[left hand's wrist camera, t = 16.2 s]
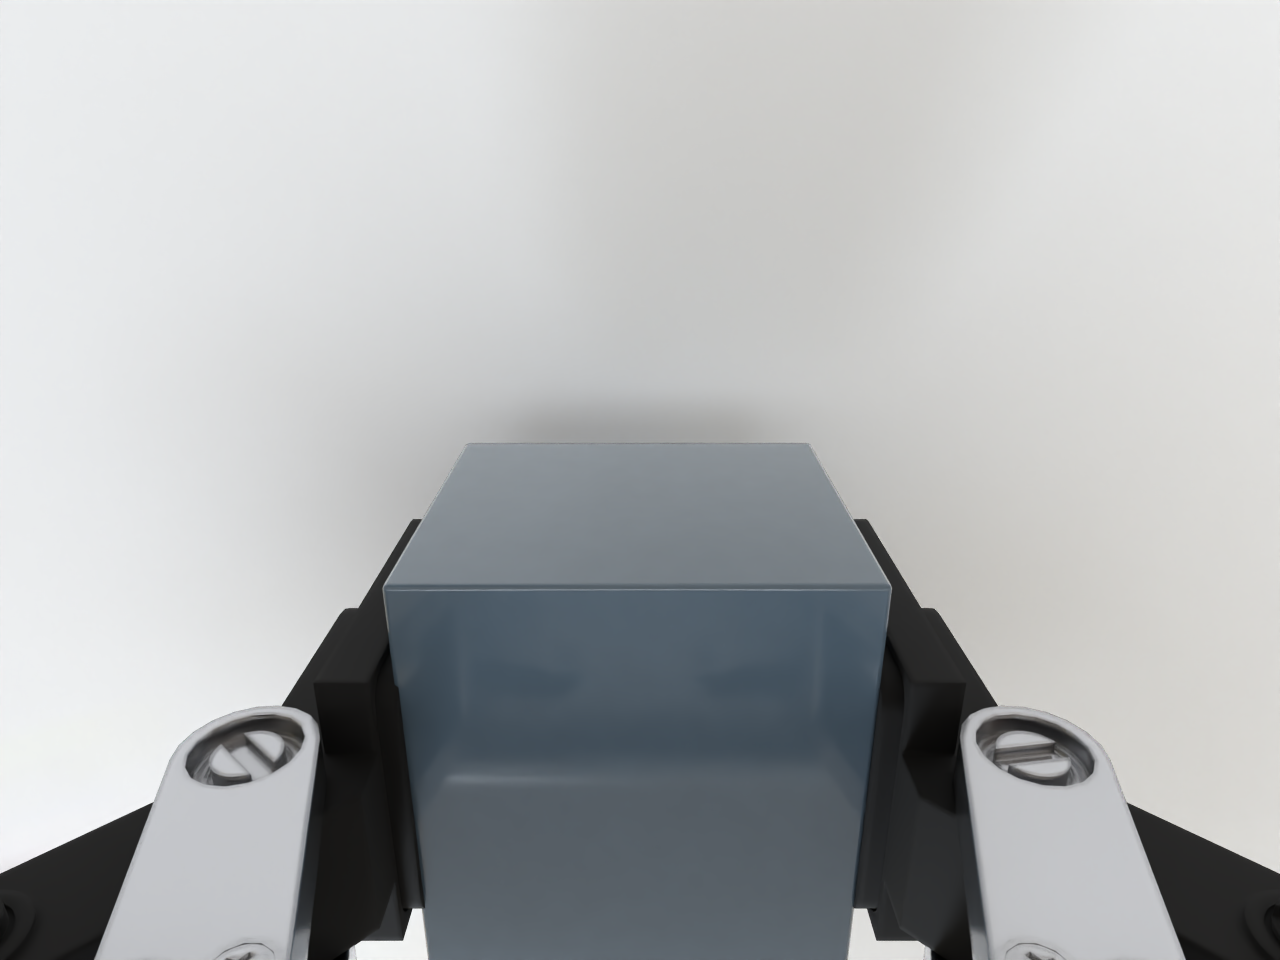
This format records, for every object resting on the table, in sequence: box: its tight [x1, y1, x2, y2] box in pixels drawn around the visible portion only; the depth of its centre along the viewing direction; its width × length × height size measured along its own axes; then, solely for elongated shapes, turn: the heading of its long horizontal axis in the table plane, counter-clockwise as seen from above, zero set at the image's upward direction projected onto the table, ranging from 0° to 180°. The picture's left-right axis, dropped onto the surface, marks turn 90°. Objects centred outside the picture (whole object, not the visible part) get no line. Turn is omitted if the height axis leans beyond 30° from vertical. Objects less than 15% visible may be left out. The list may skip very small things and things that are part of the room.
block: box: [383, 443, 892, 960], centre depth 11 cm, size 5×5×4 cm
